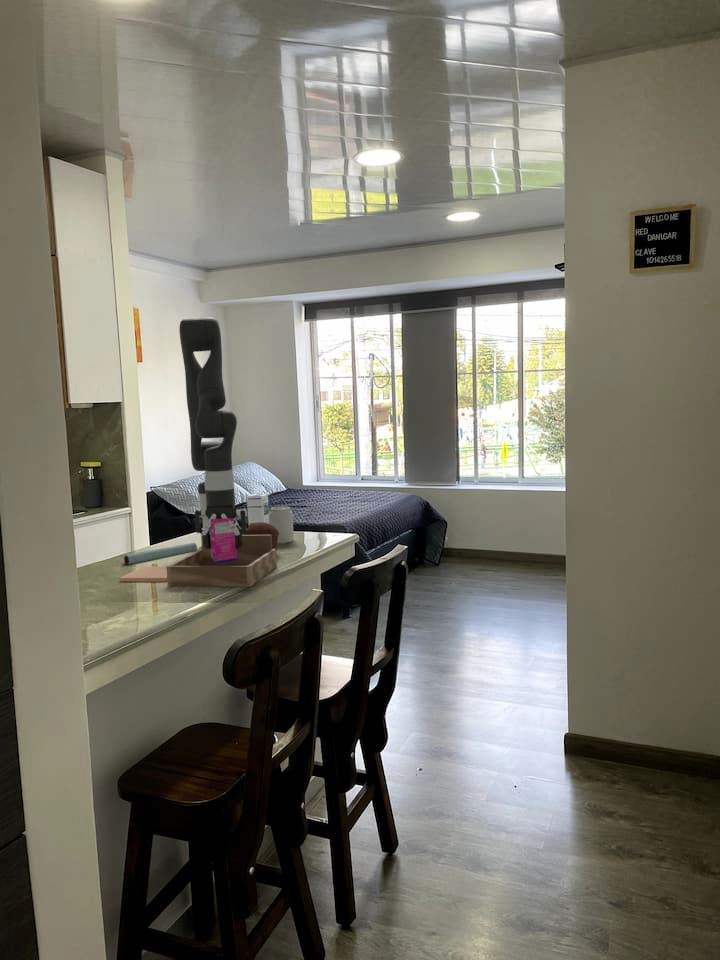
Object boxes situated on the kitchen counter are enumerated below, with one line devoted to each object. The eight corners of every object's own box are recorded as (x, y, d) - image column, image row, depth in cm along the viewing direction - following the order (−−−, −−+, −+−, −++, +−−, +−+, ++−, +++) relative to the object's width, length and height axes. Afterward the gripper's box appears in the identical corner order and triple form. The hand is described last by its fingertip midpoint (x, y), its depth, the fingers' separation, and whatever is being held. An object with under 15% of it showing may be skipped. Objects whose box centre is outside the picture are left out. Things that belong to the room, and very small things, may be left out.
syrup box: (265, 538, 252) (263, 495, 250) (248, 538, 253) (246, 495, 251) (270, 535, 257) (268, 493, 256) (254, 535, 258) (252, 493, 257)
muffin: (234, 560, 217) (232, 526, 216) (250, 552, 228) (249, 520, 227) (272, 561, 214) (270, 526, 213) (286, 553, 224) (285, 520, 223)
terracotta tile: (142, 570, 208) (142, 566, 208) (186, 570, 206) (186, 566, 205) (119, 581, 195) (119, 577, 195) (166, 581, 193) (166, 577, 193)
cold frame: (201, 566, 209) (199, 535, 209) (276, 566, 205) (275, 534, 205) (167, 586, 188) (165, 550, 187) (251, 586, 184) (249, 550, 183)
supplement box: (210, 559, 198) (208, 516, 197) (232, 556, 200) (230, 514, 199) (215, 563, 193) (212, 519, 192) (237, 560, 195) (235, 517, 194)
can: (273, 542, 243) (272, 505, 242) (296, 541, 242) (294, 505, 241) (267, 546, 236) (265, 509, 235) (290, 546, 235) (289, 508, 234)
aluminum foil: (192, 552, 233) (191, 541, 233) (203, 555, 228) (202, 544, 228) (124, 565, 218) (123, 553, 218) (134, 568, 213) (133, 556, 213)
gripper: (250, 485, 197) (253, 545, 199) (199, 485, 199) (203, 545, 201) (241, 488, 189) (244, 551, 191) (188, 489, 192) (192, 551, 194)
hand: (223, 548), depth 196 cm, fingers closed on supplement box, 8 cm apart
